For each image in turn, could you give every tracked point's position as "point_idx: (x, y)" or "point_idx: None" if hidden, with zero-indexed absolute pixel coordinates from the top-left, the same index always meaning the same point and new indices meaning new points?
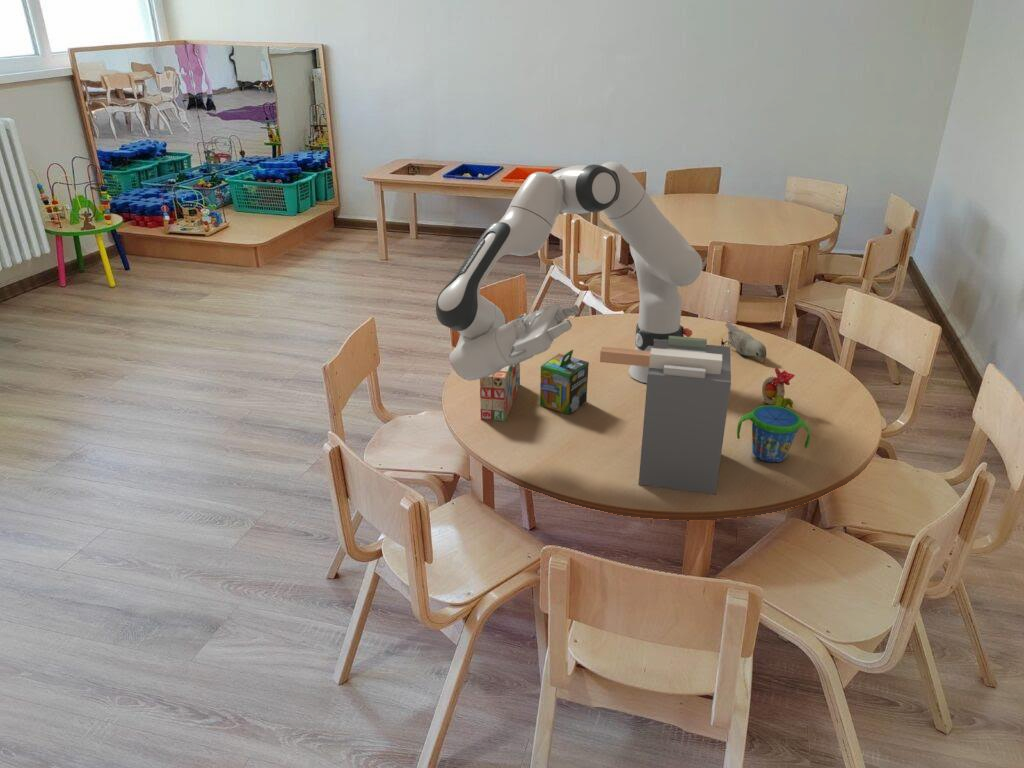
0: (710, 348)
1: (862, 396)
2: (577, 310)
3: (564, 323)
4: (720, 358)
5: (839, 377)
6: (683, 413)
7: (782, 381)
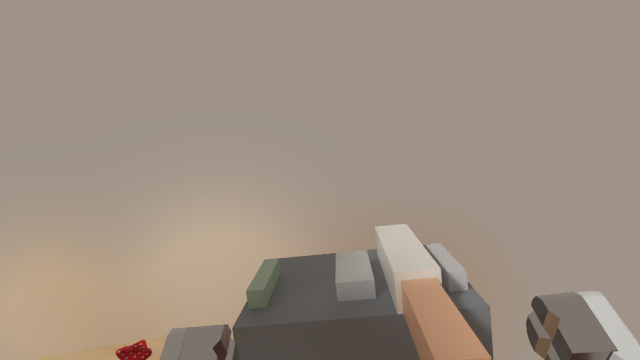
0: (282, 269)
1: (140, 340)
2: (232, 342)
3: (613, 311)
4: (395, 225)
5: (79, 355)
6: None
7: (146, 355)
